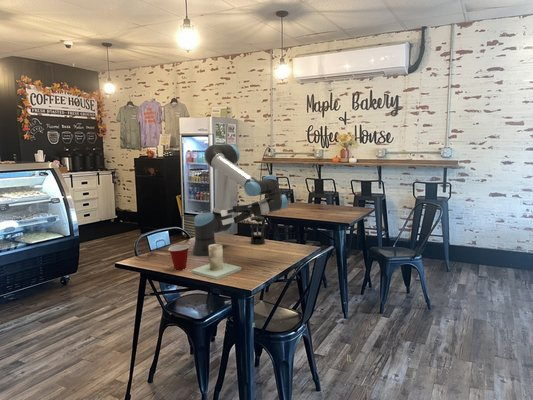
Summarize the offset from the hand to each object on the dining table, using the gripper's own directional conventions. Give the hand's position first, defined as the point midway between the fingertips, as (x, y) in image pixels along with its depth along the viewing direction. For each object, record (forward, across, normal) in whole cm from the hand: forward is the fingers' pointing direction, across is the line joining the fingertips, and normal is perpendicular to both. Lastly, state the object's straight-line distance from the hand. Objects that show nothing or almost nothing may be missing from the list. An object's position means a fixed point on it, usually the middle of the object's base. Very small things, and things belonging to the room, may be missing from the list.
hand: (221, 218), depth 212 cm
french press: (-21, +51, -5) cm, 56 cm away
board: (+10, +3, -26) cm, 28 cm away
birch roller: (+10, +2, -24) cm, 26 cm away
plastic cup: (+28, +9, -18) cm, 34 cm away
